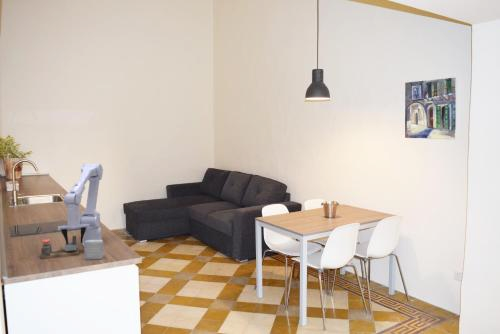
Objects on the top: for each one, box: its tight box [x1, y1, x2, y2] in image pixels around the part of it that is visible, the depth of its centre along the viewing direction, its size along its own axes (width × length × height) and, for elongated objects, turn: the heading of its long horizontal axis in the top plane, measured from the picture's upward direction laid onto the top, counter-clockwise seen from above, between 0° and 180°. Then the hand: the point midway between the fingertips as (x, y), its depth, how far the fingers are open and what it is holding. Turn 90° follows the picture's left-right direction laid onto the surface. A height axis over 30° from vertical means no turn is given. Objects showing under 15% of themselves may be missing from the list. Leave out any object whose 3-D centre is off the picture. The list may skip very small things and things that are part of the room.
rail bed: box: [39, 241, 80, 260], centre depth 204 cm, size 17×10×5 cm, turn 111°
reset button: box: [41, 238, 51, 244], centre depth 201 cm, size 4×4×1 cm
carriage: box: [64, 235, 78, 251], centre depth 206 cm, size 5×7×6 cm
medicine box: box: [83, 239, 105, 260], centre depth 198 cm, size 8×4×9 cm, turn 92°
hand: (74, 243), depth 206 cm, fingers open, 6 cm apart
